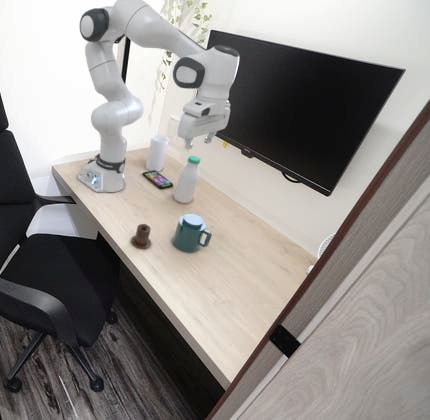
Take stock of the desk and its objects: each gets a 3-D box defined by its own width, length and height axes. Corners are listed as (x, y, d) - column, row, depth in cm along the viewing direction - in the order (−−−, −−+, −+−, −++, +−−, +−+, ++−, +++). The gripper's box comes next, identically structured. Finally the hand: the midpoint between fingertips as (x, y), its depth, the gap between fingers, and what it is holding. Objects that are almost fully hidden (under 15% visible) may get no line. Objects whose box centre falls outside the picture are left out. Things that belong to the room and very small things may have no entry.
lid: (127, 242, 118) (131, 224, 113) (138, 234, 122) (142, 216, 117) (143, 251, 114) (147, 233, 109) (153, 243, 118) (158, 224, 113)
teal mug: (167, 243, 118) (175, 219, 111) (179, 232, 123) (187, 208, 116) (198, 260, 111) (208, 235, 104) (209, 248, 116) (219, 223, 110)
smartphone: (155, 169, 161) (174, 184, 149) (154, 171, 161) (174, 186, 150) (141, 172, 158) (160, 187, 147) (141, 174, 159) (160, 189, 147)
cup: (165, 170, 162) (172, 140, 153) (150, 172, 160) (157, 142, 151) (156, 163, 169) (163, 134, 159) (142, 164, 167) (148, 135, 157)
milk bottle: (192, 204, 138) (206, 163, 126) (174, 202, 139) (185, 161, 128) (190, 195, 144) (203, 154, 133) (172, 193, 146) (183, 152, 134)
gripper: (222, 97, 107) (210, 136, 115) (179, 106, 98) (169, 148, 107) (240, 102, 102) (225, 143, 111) (196, 112, 94) (184, 155, 102)
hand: (197, 145), depth 109 cm, fingers open, 8 cm apart
